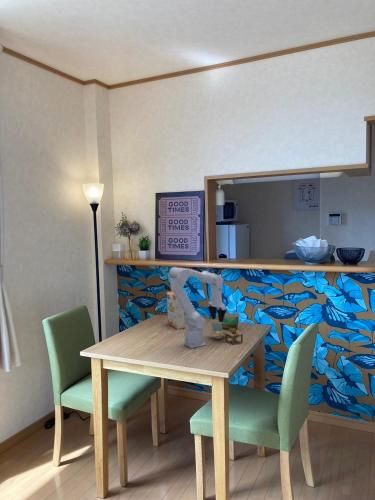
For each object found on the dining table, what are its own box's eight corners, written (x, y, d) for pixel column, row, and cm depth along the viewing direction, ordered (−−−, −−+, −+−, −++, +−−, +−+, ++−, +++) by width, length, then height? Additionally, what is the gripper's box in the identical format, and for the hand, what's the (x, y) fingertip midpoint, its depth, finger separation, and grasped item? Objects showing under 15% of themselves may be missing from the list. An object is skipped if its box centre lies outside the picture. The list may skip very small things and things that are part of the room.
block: (216, 332, 225) (215, 324, 224) (212, 330, 228) (212, 323, 228) (222, 330, 227) (222, 323, 226) (218, 329, 230) (218, 322, 230)
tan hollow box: (233, 344, 216) (232, 331, 216) (225, 341, 222) (225, 328, 221) (242, 342, 220) (242, 329, 219) (235, 339, 225) (234, 326, 225)
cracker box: (167, 324, 261) (166, 291, 259) (176, 323, 263) (175, 290, 261) (176, 329, 248) (175, 295, 246) (185, 328, 251) (184, 294, 249)
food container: (217, 329, 246) (216, 313, 245) (221, 326, 251) (220, 310, 250) (236, 331, 240) (235, 314, 239) (240, 328, 245) (239, 312, 244)
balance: (215, 342, 222) (214, 333, 222) (207, 338, 229) (207, 330, 229) (242, 336, 231) (242, 328, 230) (234, 332, 238) (233, 325, 237)
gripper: (229, 297, 221) (230, 322, 222) (215, 293, 234) (216, 316, 235) (218, 299, 218) (219, 324, 219) (204, 294, 230) (205, 318, 232)
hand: (217, 320), depth 227 cm, fingers open, 7 cm apart
